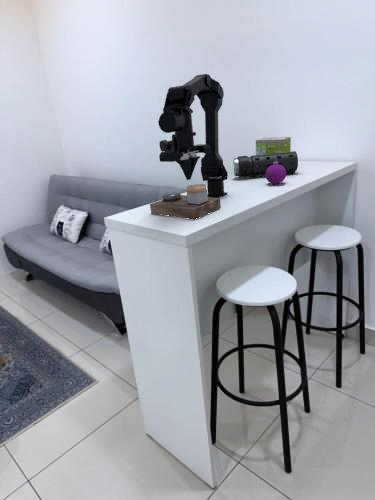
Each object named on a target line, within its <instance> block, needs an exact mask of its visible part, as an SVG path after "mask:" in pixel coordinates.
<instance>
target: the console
mask: <svg viewBox="0 0 375 500" xmlns="http://www.w3.org/2000/svg"><path fill="white" fill-rule="evenodd" d="M180 196H181V200H178V201H176V202H173V203H170V202H162V200H163V199H160V200H158V201H155V202H152V203H149V206H150V207H149V208H150V214H151V213H155V214H154V215H157V214H162V215H161V216H163V215H169V216H168V217H170V216H176V217H175V218H177V217H182V218H181V219H183V218H189V219H188V220H190V219H196V218H199V217H201V216H203V217H205V216H207V215H206V214H208V213H210V214H212V213H214V212H216V211H218V209H219V210H221V209H222V208H221V207H222V204H221V197H208V201H206V202H203V203H201V204H192V203H188V201H187V194H186V195H185V194H180ZM220 208H221V209H220ZM211 212H212V213H211ZM204 215H205V216H204ZM208 215H209V214H208ZM201 218H202V217H201ZM199 219H200V218H199ZM196 220H197V219H196Z"/></svg>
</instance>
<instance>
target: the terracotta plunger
mask: <svg viewBox="0 0 375 500" xmlns="http://www.w3.org/2000/svg"><path fill="white" fill-rule="evenodd" d="M186 195H187V201H188V203H192V204H201V203H203V202H206V201H208V189H207V185H206V184H204V183H197V184H191V185H188V186H186Z"/></svg>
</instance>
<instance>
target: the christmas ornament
mask: <svg viewBox="0 0 375 500" xmlns="http://www.w3.org/2000/svg"><path fill="white" fill-rule="evenodd" d="M276 161H277V160H276ZM273 164H274V165H271V166H270V167H268V169H267V171H266V175H265V178H266V180H267V181H268V183H269V184H272V185H278V184H282V182H284V180H285V179H286V177H287V174H286V170H285V168H284V167H283V166H282V165H278V162H275V160H274V162H273Z"/></svg>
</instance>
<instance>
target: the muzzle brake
mask: <svg viewBox="0 0 375 500" xmlns="http://www.w3.org/2000/svg"><path fill="white" fill-rule="evenodd" d="M274 160H275V162H278V165H282V166H283V167H284V168H285V170H286V175H288V174H295V173H296V172H297V170H298V167H299V158H298V153H297V151H294V150H293V151H292V150H291V152H285V153H273V154H266V155H256V154H255V155H250V156H248V155H240V156H237V157H234V158H233V175H234V177H238V178H246V177H247V178H248V179H251V178H253V179H255V178H256V177H257V176H258V177H259V176H266V171H267V169H268V167H270V166H271V165H274V164H273V162H274ZM276 160H277V161H276Z"/></svg>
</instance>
